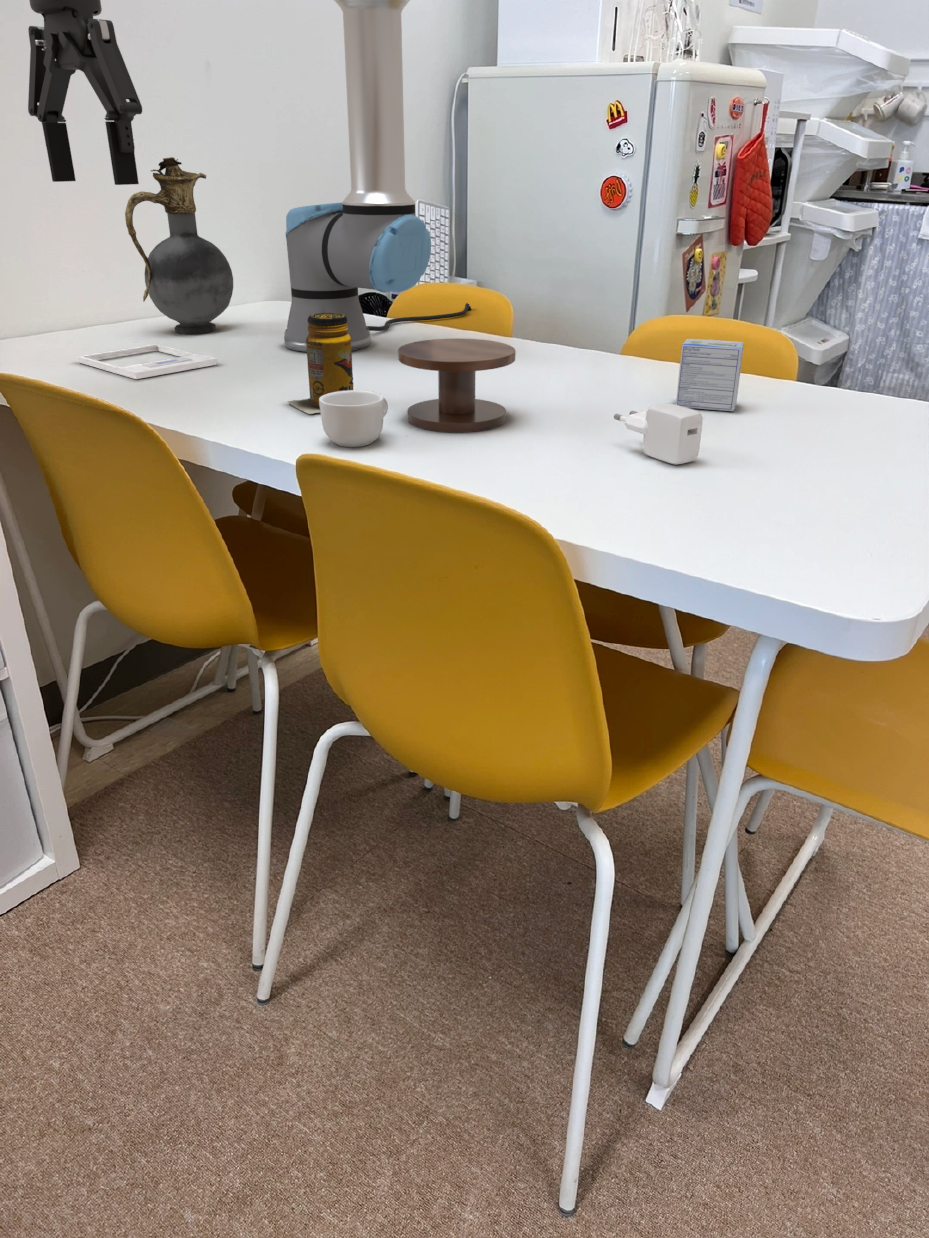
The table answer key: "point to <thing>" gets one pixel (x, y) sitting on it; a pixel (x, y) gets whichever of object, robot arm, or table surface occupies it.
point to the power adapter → (667, 432)
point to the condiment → (326, 359)
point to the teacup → (353, 416)
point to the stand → (456, 383)
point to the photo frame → (151, 368)
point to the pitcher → (182, 256)
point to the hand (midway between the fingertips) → (94, 183)
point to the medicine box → (709, 374)
